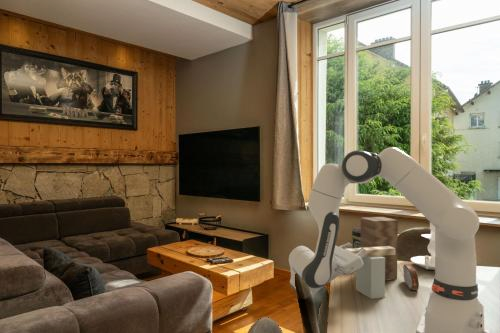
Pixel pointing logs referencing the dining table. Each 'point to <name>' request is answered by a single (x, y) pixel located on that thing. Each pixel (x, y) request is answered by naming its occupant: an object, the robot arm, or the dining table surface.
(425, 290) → the dining table surface
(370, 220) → the tall stand
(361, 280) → the pedestal
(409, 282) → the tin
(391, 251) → the beech bar
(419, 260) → the candlestick
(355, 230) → the coffee jar
